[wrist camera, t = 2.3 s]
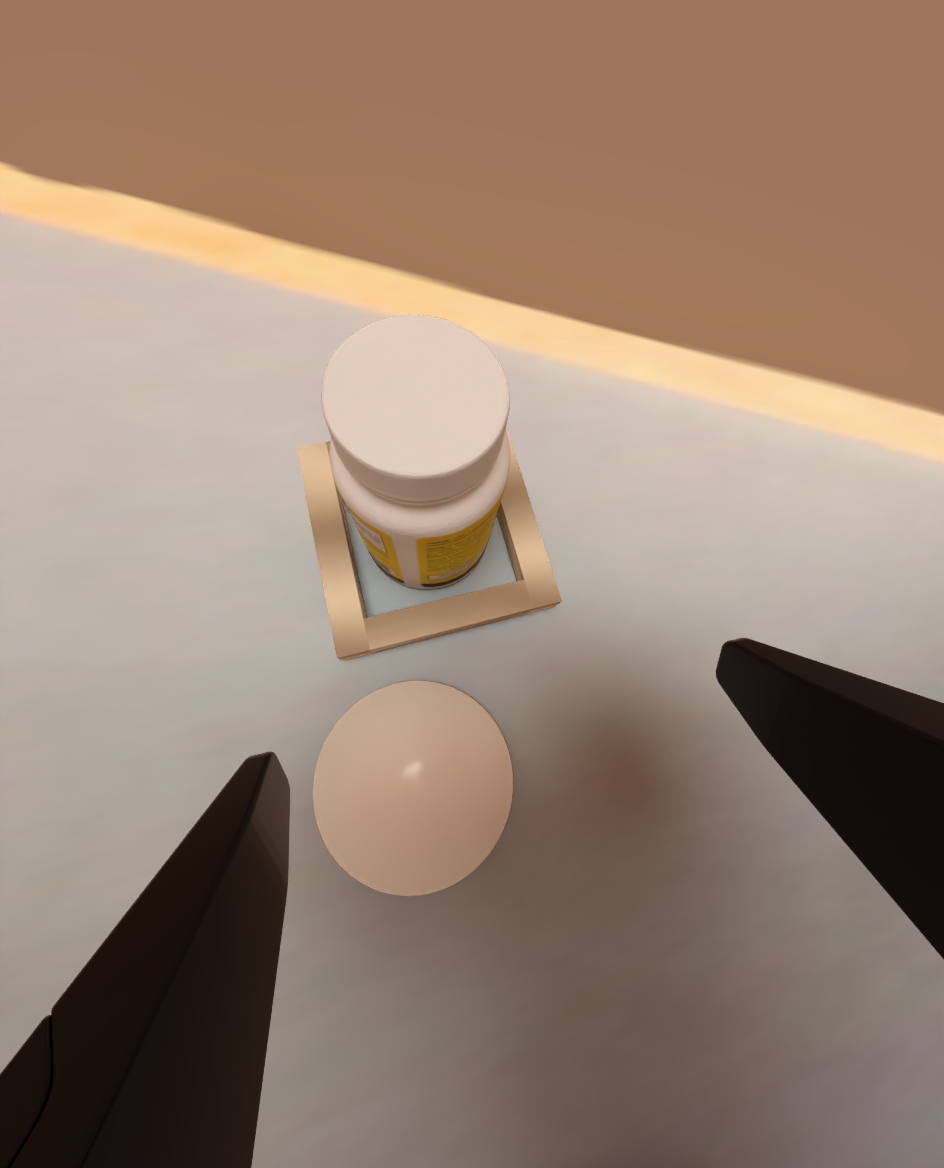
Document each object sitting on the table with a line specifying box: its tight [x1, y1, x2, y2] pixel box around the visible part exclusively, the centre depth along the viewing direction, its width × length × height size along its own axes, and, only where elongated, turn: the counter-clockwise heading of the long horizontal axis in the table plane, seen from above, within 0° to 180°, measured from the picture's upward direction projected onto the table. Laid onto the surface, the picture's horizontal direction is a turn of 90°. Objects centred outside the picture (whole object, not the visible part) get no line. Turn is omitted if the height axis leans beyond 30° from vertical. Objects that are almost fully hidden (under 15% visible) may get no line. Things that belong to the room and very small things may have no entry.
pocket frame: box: [297, 427, 562, 660], centre depth 22 cm, size 11×11×2 cm
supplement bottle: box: [321, 315, 510, 589], centre depth 17 cm, size 6×6×11 cm
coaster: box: [313, 681, 513, 896], centre depth 20 cm, size 9×9×1 cm
